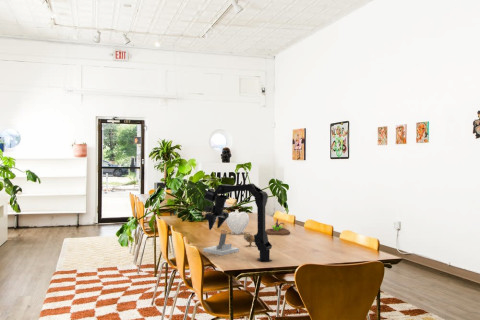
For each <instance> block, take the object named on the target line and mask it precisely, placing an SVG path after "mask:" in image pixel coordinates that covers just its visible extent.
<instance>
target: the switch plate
mask: <svg viewBox="0 0 480 320" xmlns="http://www.w3.org/2000/svg"><path fill="white" fill-rule="evenodd" d="M232 244H233V243H225V245H222V248H219V244H218V245H212V246H209V247H204V248H202V251H203V252H204V253H209V254H213V255H219V256H225V255H226V256H227V255H230V253H231V254H233V253H234V252H235V253H238V252H240V248H239V247H234V246H233V245H232ZM235 253H234V254H235Z"/></svg>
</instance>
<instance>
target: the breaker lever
mask: <svg viewBox="0 0 480 320" xmlns="http://www.w3.org/2000/svg"><path fill="white" fill-rule="evenodd" d="M227 232H228V230H227V229H221V231H220V236H219V240H218V241H219V242H218V245H219V248H222V245H225V244H226V238H227V234H228V233H227Z"/></svg>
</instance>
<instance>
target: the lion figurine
mask: <svg viewBox="0 0 480 320" xmlns="http://www.w3.org/2000/svg"><path fill="white" fill-rule="evenodd" d="M243 239H244V240H245V241H246V242H247V243H248V247H250V248H251V247H252V243H255V242H254V235H252V234H250V233H248V232H244V234H243Z"/></svg>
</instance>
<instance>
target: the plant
mask: <svg viewBox="0 0 480 320" xmlns="http://www.w3.org/2000/svg"><path fill="white" fill-rule="evenodd" d="M281 224H282V225H281ZM284 226H285V223H284V222H280V223H279V219H276V222H275V223H274V225H272V226H271V228H267V229H266V228H265V230H266V233H267V236H280V237H281V236H289V235H291V231H290V230H289V229H287V228H285V227H284Z"/></svg>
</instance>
